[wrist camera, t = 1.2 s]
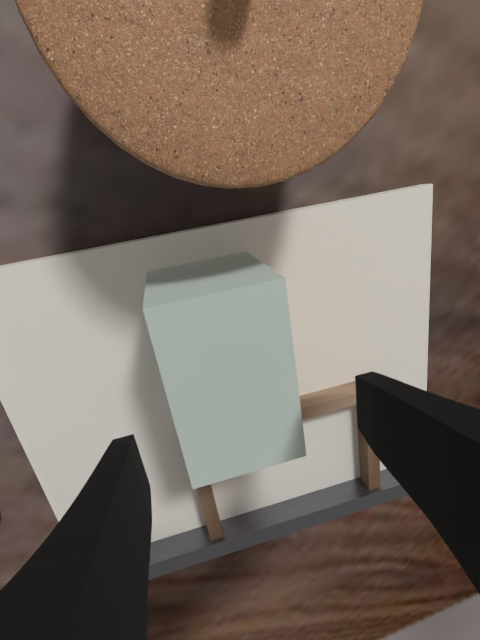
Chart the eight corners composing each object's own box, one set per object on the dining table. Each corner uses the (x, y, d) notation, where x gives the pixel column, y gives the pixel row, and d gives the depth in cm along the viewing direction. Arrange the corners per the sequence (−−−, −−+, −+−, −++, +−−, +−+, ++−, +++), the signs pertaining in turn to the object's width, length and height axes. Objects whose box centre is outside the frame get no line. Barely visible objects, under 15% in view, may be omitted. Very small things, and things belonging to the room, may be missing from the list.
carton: (182, 408, 21) (192, 489, 15) (146, 271, 18) (142, 309, 12) (272, 385, 21) (313, 453, 16) (251, 250, 18) (293, 276, 13)
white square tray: (88, 568, 24) (82, 605, 22) (-49, 274, 17) (-78, 287, 14) (416, 465, 27) (438, 488, 25) (422, 184, 20) (454, 183, 18)
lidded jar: (268, 219, 19) (363, 244, 10) (44, 136, 16) (-93, 72, 7) (352, -18, 16) (575, -252, 8) (102, -176, 13) (-3, -898, 4)
